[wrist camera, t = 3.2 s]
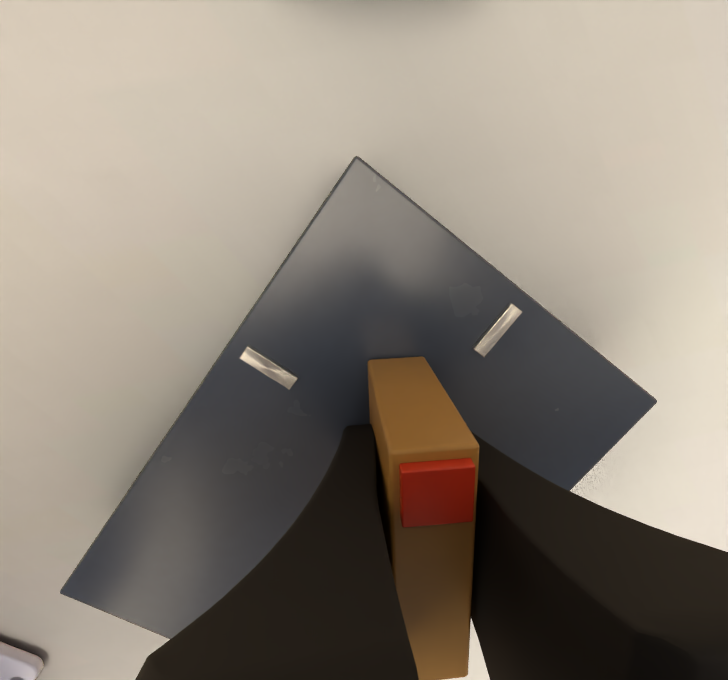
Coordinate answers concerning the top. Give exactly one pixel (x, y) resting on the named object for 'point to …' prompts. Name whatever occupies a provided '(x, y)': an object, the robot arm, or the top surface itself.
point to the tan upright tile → (426, 509)
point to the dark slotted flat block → (344, 399)
